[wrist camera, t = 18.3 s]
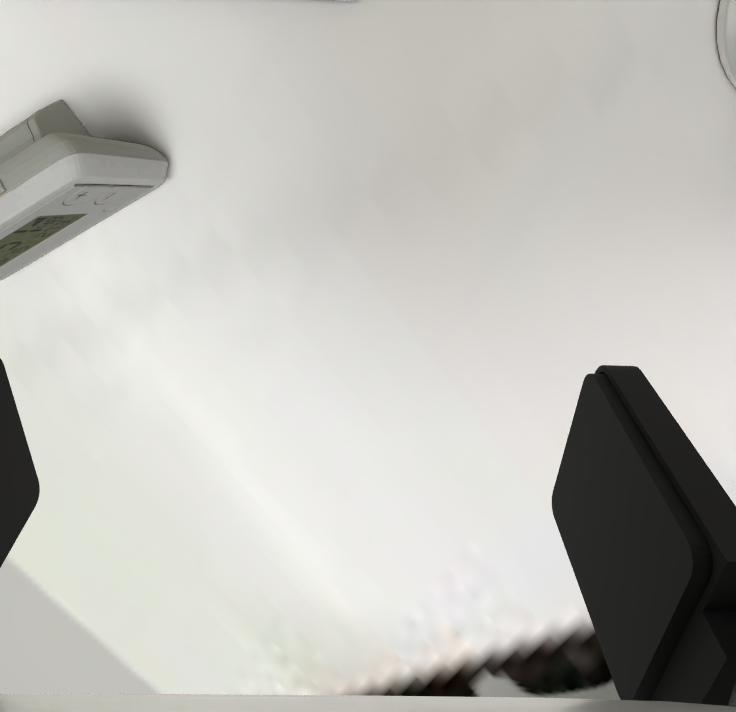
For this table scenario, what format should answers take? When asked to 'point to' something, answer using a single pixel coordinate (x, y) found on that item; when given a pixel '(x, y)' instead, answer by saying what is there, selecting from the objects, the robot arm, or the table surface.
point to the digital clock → (64, 183)
